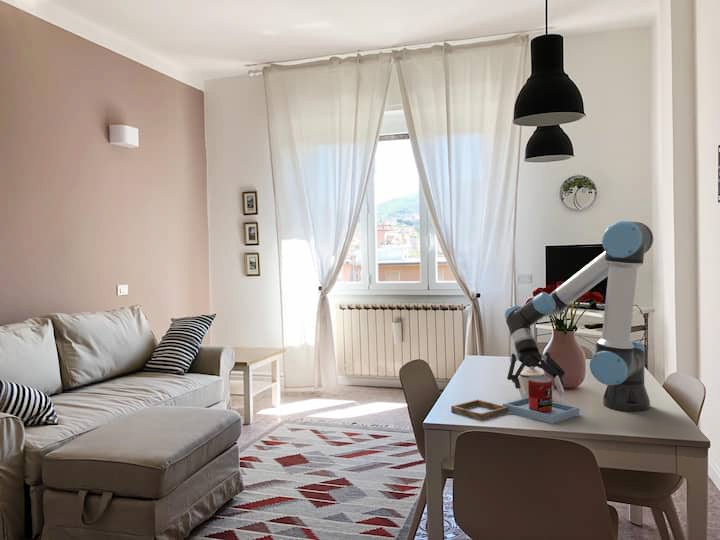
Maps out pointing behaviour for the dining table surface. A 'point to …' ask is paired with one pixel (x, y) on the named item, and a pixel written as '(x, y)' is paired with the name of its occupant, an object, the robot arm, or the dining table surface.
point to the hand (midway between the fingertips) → (543, 395)
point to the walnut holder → (495, 411)
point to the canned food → (540, 393)
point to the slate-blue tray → (555, 415)
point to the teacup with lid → (526, 375)
